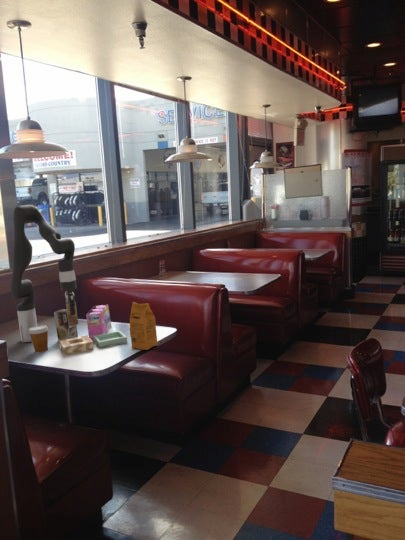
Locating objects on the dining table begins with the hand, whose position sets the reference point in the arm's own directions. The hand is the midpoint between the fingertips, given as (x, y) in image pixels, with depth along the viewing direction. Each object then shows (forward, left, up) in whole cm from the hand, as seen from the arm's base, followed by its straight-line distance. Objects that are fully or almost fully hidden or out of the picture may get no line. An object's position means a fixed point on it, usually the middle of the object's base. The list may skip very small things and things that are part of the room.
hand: (72, 313), depth 245 cm
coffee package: (+29, -20, -18) cm, 40 cm away
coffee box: (-1, +21, -18) cm, 28 cm away
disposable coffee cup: (-16, +10, -18) cm, 26 cm away
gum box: (+17, +22, -18) cm, 34 cm away
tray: (+17, 0, -18) cm, 25 cm away
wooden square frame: (0, 0, -18) cm, 18 cm away
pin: (0, 0, -5) cm, 5 cm away
